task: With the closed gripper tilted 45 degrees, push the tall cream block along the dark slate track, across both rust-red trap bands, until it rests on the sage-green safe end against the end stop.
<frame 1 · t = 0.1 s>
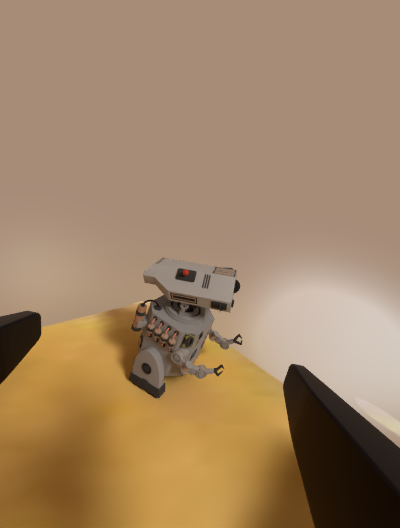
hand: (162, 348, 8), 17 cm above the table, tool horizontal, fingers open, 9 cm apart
figurine: (179, 377, 29), on the table
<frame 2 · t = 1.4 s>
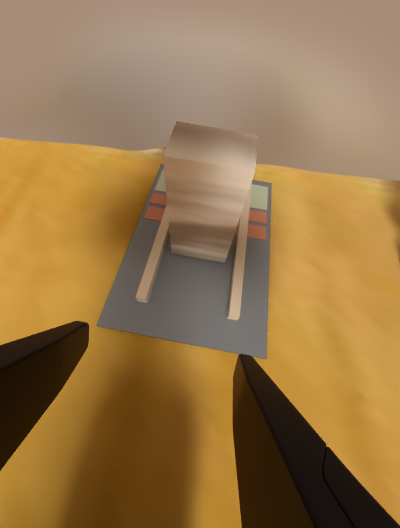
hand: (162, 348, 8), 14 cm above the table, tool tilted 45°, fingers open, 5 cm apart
cream block: (205, 206, 21), point 7 cm above the table, slide at 0.0 cm
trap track: (200, 246, 26), on the table
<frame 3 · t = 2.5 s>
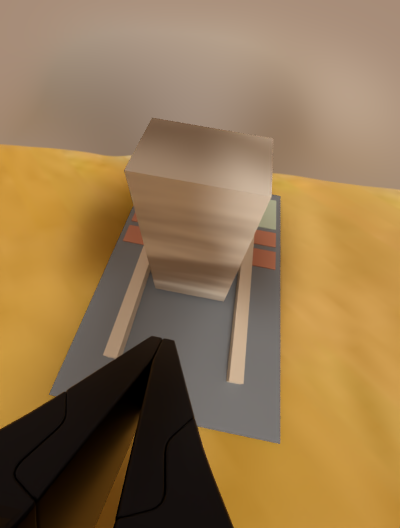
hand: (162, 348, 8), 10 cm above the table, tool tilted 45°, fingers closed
cream block: (197, 234, 15), point 7 cm above the table, slide at 0.0 cm
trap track: (193, 277, 21), on the table
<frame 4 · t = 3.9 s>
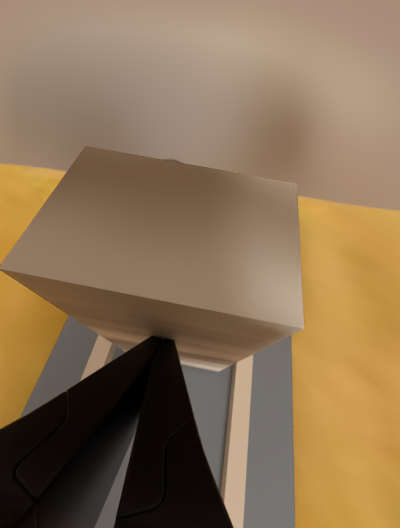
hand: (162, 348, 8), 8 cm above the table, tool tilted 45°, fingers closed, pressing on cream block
cream block: (177, 303, 11), point 7 cm above the table, slide at 0.6 cm, touching gripper
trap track: (177, 342, 16), on the table
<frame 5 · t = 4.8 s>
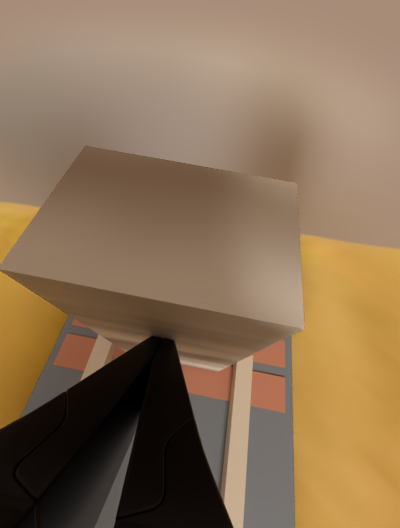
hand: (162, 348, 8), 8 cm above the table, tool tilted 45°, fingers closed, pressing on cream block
cream block: (177, 303, 11), point 7 cm above the table, slide at 5.8 cm, touching gripper
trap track: (158, 431, 13), on the table
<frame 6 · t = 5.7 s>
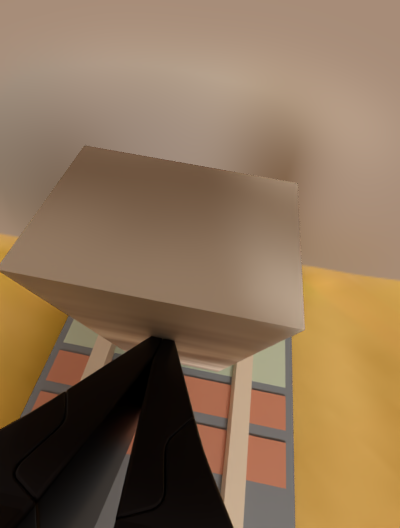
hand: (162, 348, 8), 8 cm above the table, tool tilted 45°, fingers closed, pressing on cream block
cream block: (177, 303, 10), point 7 cm above the table, slide at 9.3 cm, touching gripper
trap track: (140, 513, 12), on the table
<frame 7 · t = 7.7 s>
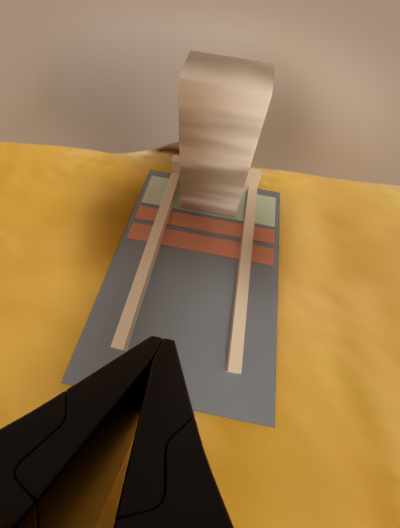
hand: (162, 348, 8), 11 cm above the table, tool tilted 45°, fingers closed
cream block: (217, 151, 20), point 7 cm above the table, slide at 9.2 cm
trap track: (194, 273, 22), on the table
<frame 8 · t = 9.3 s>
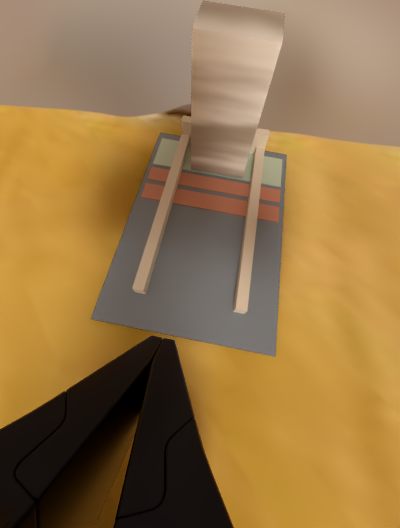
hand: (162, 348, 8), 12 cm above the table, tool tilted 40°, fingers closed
cream block: (226, 108, 21), point 7 cm above the table, slide at 9.2 cm
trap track: (204, 229, 24), on the table
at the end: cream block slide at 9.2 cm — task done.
